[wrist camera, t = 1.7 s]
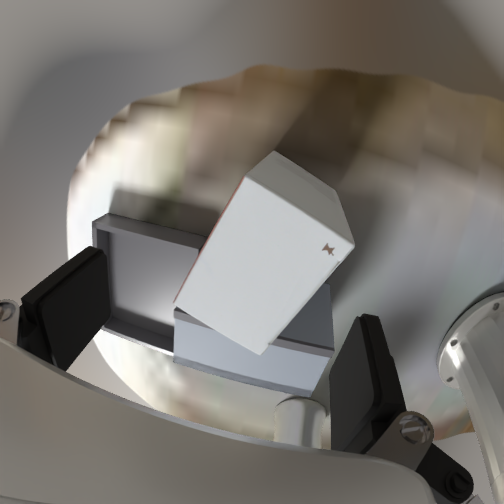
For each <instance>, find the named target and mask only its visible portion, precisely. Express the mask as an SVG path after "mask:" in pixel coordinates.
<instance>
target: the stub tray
mask: <svg viewBox="0 0 504 504" xmlns="http://www.w3.org/2000/svg"><path fill="white" fill-rule="evenodd" d="M92 239H93V247H95V248H99V249H102V250H103V251H104V254H105V255H106V256H107V266H108V282H109V295H110V306H111V314H110V317H109V319H108V320H107V322H106V323H105V324H104V325H103V326H102V328H101V329H102V330H104V331H106V332H109V333H111V334H114V335H116V336H119V337H121V338H124V339H126V340H129V341H132V342H134V343H137V344H140V345H142V346H145V347H148V348H151V349H153V350H156V351H159V352H162V353H165V354H168V355H171V356H173V355H174V327H175V318H173V313H174V309H175V308H176V305H174V303H173V301H174V299H175V297H176V296H177V294H178V292H179V290H180V288H181V286H182V284H183V282H184V280H185V279H186V277H187V275H188V273H189V271H190V269H191V268H192V266H193V264H194V262H195V260H196V258H197V256H198V255H199V253H200V251H201V249H202V247H203V246H204V244H205V242H206V240H207V239H208V237H205V236H201V235H197V234H193V233H188V232H184V231H180V230H176V229H172V228H168V227H164V226H160V225H155V224H151V223H147V222H143V221H139V220H135V219H130V218H126V217H122V216H118V215H114V214H110V213H107V214H105V215H103V216H102V217H100V218H98V219H96V220H94V221H92Z"/></svg>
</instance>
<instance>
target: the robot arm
mask: <svg viewBox="0 0 504 504" xmlns="http://www.w3.org/2000/svg"><path fill="white" fill-rule="evenodd" d="M21 301H22V305H21V306H20V307H19V305H18V304H17V303H16V302H15V301H13V300H10V299H4V300H0V504H484V503H483V501H482V500H481V499H480V497H479V496H478V495H475V496H473V494H472V492H473V485H474V483H473V479H472V477H471V475H470V473H469V472H468V471H467V470H466V469H465V468H463V467H462V466H461V465H460V464H458V463H457V462H456V461H455V460H453V459H452V458H451V457H449V456H448V455H447V454H446V453H444V452H443V451H442V450H441V449H439V448H438V447H437V446H436V445H434V444H433V443H432V442H433V439H434V429H433V426H432V424H431V422H430V421H429V420H428V419H427V418H426V417H425V416H424V415H422V414H420V413H418V412H414V411H407V410H406V406H405V401H404V397H403V393H402V389H401V385H400V381H399V378H398V374H397V370H396V367H395V363H394V359H393V357H392V356H391V355H390V353H389V349H388V346H387V342H386V339H385V335H384V332H383V329H382V325H381V322H380V319H379V317H378V316H374V315H369V314H362V315H361V317H358V316H357V317H356V318H355V320H354V322H353V325H352V327H351V329H350V331H349V333H348V336H347V338H346V340H345V342H344V344H343V346H342V348H341V350H340V352H339V354H338V356H337V358H336V360H335V362H334V364H333V366H332V368H331V371H330V376H329V381H330V408H331V450H326V449H318V448H311V447H304V446H298V445H292V444H286V443H280V442H275V441H269V440H264V439H259V438H254V437H249V436H245V435H240V434H236V433H232V432H228V431H224V430H220V429H216V428H212V427H208V426H205V425H201V424H198V423H194V422H191V421H188V420H184V419H181V418H178V417H175V416H172V415H169V414H166V413H163V412H160V411H157V410H154V409H151V408H148V407H146V406H143V405H140V404H138V403H135V402H132V401H130V400H127V399H125V398H122V397H120V396H117V395H115V394H113V393H110V392H108V391H106V390H103V389H101V388H99V387H96V386H94V385H92V384H90V383H88V382H85V381H83V380H81V379H79V378H77V377H75V376H73V375H71V374H69V373H67V372H66V371H67V369H68V368H69V367H70V365H71V364H72V363H73V362H74V360H75V359H76V358H77V357H78V355H79V354H80V353H81V352H82V351H83V349H84V348H85V347H86V346H87V344H88V343H89V342H90V341H91V340H92V338H93V337H94V336H95V335H96V334H97V332H98V331H99V330H100V329H101V328H102V326H103V325H104V324H105V323H106V322H107V320H108V319H109V317H110V314H111V306H110V295H109V282H108V266H107V256H106V255H105V254H104V251H103V250H102V249H99V248H95V247H92V246H88V247H87V248H85V249H84V250H83V251H81V252H80V253H78V254H77V255H76V256H74V257H73V258H72V259H70V260H69V261H68V262H66V263H65V264H64V265H62V266H61V267H60V268H58V269H57V270H56V271H54V272H53V273H52V274H50V275H49V276H48V277H47V278H45V279H44V280H43V281H42V282H40V283H39V284H38V285H37V286H35V287H34V288H33V289H32V290H30V291H29V292H28V293H27V294H25V295H24V296H23V297H22V298H21ZM437 369H438V373H439V375H440V377H441V380H442V381H443V383H444V384H446V385H447V386H449V387H450V388H454V389H460V390H461V392H462V395H463V398H464V400H465V403H466V406H467V409H468V411H469V414H470V417H471V420H472V423H473V426H474V429H475V432H476V435H477V438H478V442H479V445H480V448H481V452H482V455H483V459H484V463H485V466H486V470H487V474H488V478H489V483H490V487H491V491H492V495H493V499H494V502H495V504H504V292H502V293H498V294H494V295H492V296H489V297H487V298H485V299H483V300H481V301H480V302H478V303H476V304H475V305H474V306H472V307H471V308H470V309H469V310H467V311H466V312H465V313H464V314H463V315H462V316H461V317H460V318H459V319H458V320H457V321H456V322H455V324H454V325H453V326H452V327H451V328H450V330H449V331H448V333H447V335H446V336H445V338H444V340H443V342H442V344H441V346H440V348H439V352H438V356H437Z"/></svg>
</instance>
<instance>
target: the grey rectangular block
mask: <svg viewBox="0 0 504 504" xmlns="http://www.w3.org/2000/svg"><path fill="white" fill-rule="evenodd" d="M173 318H175V327H174V355H173V362H174V363H177V364H180V365H183V366H186V367H190V368H193V369H196V370H199V371H203V372H206V373H209V374H213V375H216V376H220V377H223V378H227V379H231V380H234V381H238V382H242V383H246V384H250V385H254V386H258V387H262V388H266V389H271V390H275V391H280V392H284V393H289V394H294V395H299V396H304V397H309V398H310V396H311V394H312V392H313V391H314V389H315V387H316V385H317V383H318V381H319V379H320V377H321V375H322V373H323V371H324V369H325V367H326V365H327V362H328V360H329V358H332V355H333V353H334V334H333V319H332V306H331V294H330V284H327V283H323V284H322V285H321V286H320V287H319V289H318V290H317V291H316V292H315V293H314V295H313V296H312V297H311V298H310V299H309V300H308V302H307V303H306V304H305V305H304V306H303V307H302V309H301V310H300V311H299V312H298V313H297V314H296V316H295V317H294V318H293V319H292V320H291V321H290V322H289V324H288V325H287V326H286V327H285V328H284V329H283V330H282V332H281V333H280V334H279V335H278V336H277V337H276V339H275V340H274V341H273V342H272V343H271V345H270V346H269V347H268V348H267V350H266V351H265V352H264V353H263V354H262V355H258V354H256V353H254V352H252V351H251V350H249V349H247V348H245V347H244V346H242V345H240V344H238V343H237V342H235V341H233V340H231V339H230V338H228V337H226V336H224V335H223V334H221V333H219V332H218V331H216V330H214V329H213V328H211V327H209V326H208V325H206V324H204V323H203V322H201V321H199V320H198V319H196V318H194V317H193V316H191V315H190V314H188V313H186V312H185V311H183V310H182V309H180V308H179V307H177V306H176V308H175V309H174V313H173Z"/></svg>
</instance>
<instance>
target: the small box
mask: <svg viewBox="0 0 504 504" xmlns="http://www.w3.org/2000/svg"><path fill="white" fill-rule="evenodd" d="M354 248H355V242H354V239H353V236H352V233H351V230H350V227H349V225H348V222H347V219H346V217H345V214H344V211H343V209H342V206H341V203H340V200H339V197H338V195H337V192H336V190H334V189H332V188H331V187H329V186H328V185H327V184H325V183H324V182H322V181H321V180H319V179H318V178H316V177H315V176H313V175H312V174H310V173H309V172H307V171H306V170H304V169H303V168H301V167H300V166H298V165H297V164H295V163H293V162H292V161H290V160H289V159H287V158H286V157H284V156H282V155H281V154H279V153H278V152H276V151H272V152H271V153H270V154H269V155H268V156H266V157H265V158H264V159H263V160H262V161H260V162H259V163H258V164H257V165H256V166H255V167H254V168H252V169H251V170H250V171H249V172H248V173H246V174H245V175H244V176H243V178H242V180H241V181H240V183H239V185H238V186H237V188H236V190H235V191H234V193H233V195H232V197H231V198H230V200H229V202H228V204H227V205H226V207H225V209H224V210H223V212H222V214H221V216H220V217H219V219H218V221H217V223H216V224H215V226H214V228H213V230H212V231H211V233H210V235H209V237H208V239H207V240H206V242H205V244H204V246H203V247H202V249H201V251H200V253H199V255H198V256H197V258H196V260H195V262H194V264H193V266H192V268H191V269H190V271H189V273H188V275H187V277H186V279H185V280H184V282H183V284H182V286H181V288H180V290H179V292H178V294H177V296H176V297H175V299H174V301H173V303H174V305H176V306H177V307H179V308H180V309H182V310H183V311H185V312H186V313H188V314H190V315H191V316H193V317H194V318H196V319H198V320H199V321H201V322H203V323H204V324H206V325H208V326H209V327H211V328H213V329H214V330H216V331H218V332H219V333H221V334H223V335H224V336H226V337H228V338H230V339H231V340H233V341H235V342H237V343H238V344H240V345H242V346H244V347H245V348H247V349H249V350H251V351H252V352H254V353H256V354H258V355H262V354H263V353H264V352H265V351H266V350H267V348H268V347H269V346H270V345H271V343H272V342H273V341H274V340H275V339H276V337H277V336H278V335H279V334H280V333H281V332H282V330H283V329H284V328H285V327H286V326H287V325H288V324H289V322H290V321H291V320H292V319H293V318H294V317H295V316H296V314H297V313H298V312H299V311H300V310H301V309H302V307H303V306H304V305H305V304H306V303H307V302H308V300H309V299H310V298H311V297H312V296H313V295H314V293H315V292H316V291H317V290H318V289H319V287H320V286H321V285H322V284H323V283H324V281H325V280H326V279H327V278H328V277H329V276H330V275H331V274H332V272H333V271H334V270H335V269H336V268H337V266H338V265H339V264H340V263H341V262H342V261H343V260H344V259H345V258H346V257H347V256H348V254H349V253H350V252H351V251H352V250H353V249H354Z"/></svg>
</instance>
